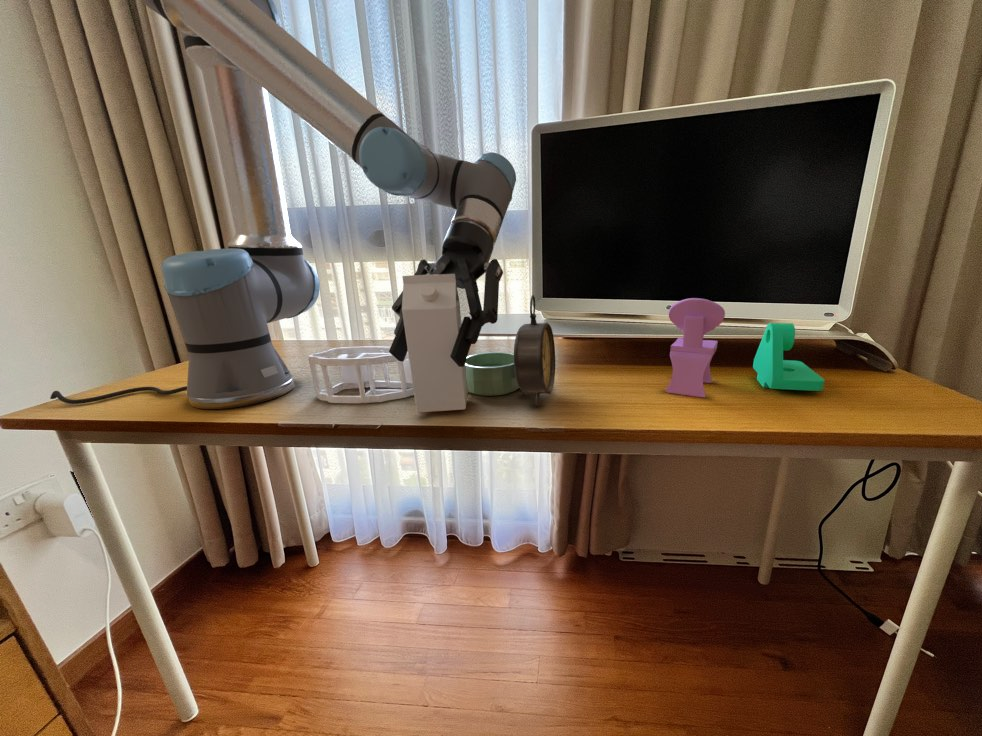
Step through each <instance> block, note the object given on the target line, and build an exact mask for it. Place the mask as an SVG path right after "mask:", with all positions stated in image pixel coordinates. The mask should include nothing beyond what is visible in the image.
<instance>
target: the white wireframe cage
mask: <svg viewBox="0 0 982 736" xmlns="http://www.w3.org/2000/svg"><path fill="white" fill-rule="evenodd" d="M390 347H391V346H379V345H378V346H377V345H363V346H362V345H360V346H349V347H348V346H343V347H342V346H341V347H333V348H330V349H328V350H324V351H320V352H316V353H312V354H311V353H310V354H308V363H309V369H310V372H311V373H310V374H311V377H312V382H313V385H314V391H315V394H316V398H317V399H318V400H319V401H326V402H327V403H329V404H369V403H384V402H387V401H392V400H399V399H404V398H408V397H411V396H412V397H413V396H414V390H413V383H412V376H411V369H410V362H409V355H408V351H407V354H406V356H405V359H404V361H403V362H402V361H398V360H397V359H396V358H395V357H394V356H393V355H392V354H391V353H390V352H389V350H390ZM335 356H337V357H335ZM388 363H397V366H398V367H397V368H398V373H399V378H400V379H399V380H400V381H398V380H397V381H396V380H391V379H390V378H391V377H390V372H389V365H388ZM317 365H319V366H320V367H321V372H322V377H323V380H324V385H325V388H324V389H322V388H321V384H320V379H319V375H318V370H317ZM377 365H381V366H382V370H383V377H384V380H375V378H376V377H377V376H376V369H375V366H377ZM328 367H338V370H339V374H340V380H341V382H339V383H337V384H335V385H333V386H332V383H331V379H330V374H329V368H328ZM365 388H369V390H368V391H366V389H365ZM379 388H380V389H379ZM385 388H386V389H385ZM347 389H348V390H351V389H358V391H359V395H336V394H338V393H339V392H341V391H343V390H347Z"/></svg>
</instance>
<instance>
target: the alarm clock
mask: <svg viewBox="0 0 982 736" xmlns="http://www.w3.org/2000/svg"><path fill="white" fill-rule="evenodd" d="M529 314H530V315H529V318H530V323H524V324H522V325H521V326H520V327H519V328H518V330H517V332H516V335H515V339H514V344H513V354H514V364H513V367H514V369H515V375H516V379H517V383H518V385H519V387H520V388H519V389H520V390H521V391H522V392H523V394H522V396H521V397H523V396H524V395H525V394H527V395H534V408H539V401H540V395H542V394H543V395H549V394H551V392H552V391H553V390H554V389H553V388H554V385H555V378H556V345H555V338H554V332H553V329H552V326H551V324H550V323H549V322H537V314H536V297H535V295H534V294H532V295H531V297H530V301H529Z"/></svg>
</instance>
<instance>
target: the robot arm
mask: <svg viewBox="0 0 982 736" xmlns="http://www.w3.org/2000/svg"><path fill="white" fill-rule="evenodd" d="M139 1H140V2H141V3H143V4H144V5H145V6H146V7H147V8H149V9H150V10H152V11H153V12H155V13H156V14H158V15H159V16H161V17H162V18H163V19H165V20H166V21H167V22H168V23H169V24H170V25H172V26H173V27H175V28H176V29H177V30H179V31H180V32H181V36H182V40H183V45H184V49H185V50H184V51H185V54H186V56H187V57H188V58H189V59H190V60H191V61H192V62H193V63H194V64H195V65H196V66H197V67H198V68H199V69H200V70H201V74H202V78H203V83H204V88H205V92H206V98H207V102H208V107H209V112H210V117H211V120H212V125H213V131H214V135H215V141H216V146H217V151H218V155H219V160H220V165H221V171H222V174H223V179H224V183H225V188H226V194H227V198H228V202H229V209H230V212H231V218H232V222H233V227H234V231H235V234H234V236H233V238H232V239H231V240H229V242H228V243H227V247H228V248H216V249H215V248H213V249H205V250H195V251H189V252H183V253H179V254H175V255H171V256H169V257H167V258H165V259H164V260H163V261H162V263H161V268H160V269H161V272H162V277H163V280H164V289H165V292H166V293H167V296H168V298H169V302H170V304H171V307H172V310H173V313H174V316H175V319H176V322H177V324H178V328H179V330H180V333H181V336H182V339H183V342H184V344H185V348H186V351H187V354H188V368H187V380H186V381H187V382H186V383H187V384H186V386H182V387H178V388H174V389H170V390H162V389H160V388H158V387H155V386H139V387H132V388H128V389H123V390H119V391H114V392H111V393H106V394H102V395H97V396H93V397H88V398H87V397H86V398H80V399H72V398H70V399H69V398H67V397H65V396H64V395H63V394H62V393H61V392H60V391H59V390H54V391H52V393H51V395H50V397H49V400H54V399H58V400H59V401H60V402H62V403H65V404H71V405H80V404H89V403H93V402H99V401H102V400H108V399H112V398H116V397H119V396H123V395H128V394H133V393H138V392H146V391H147V392H148V391H152V392H155V393H158V394H159V395H163V396H169V395H174V394H178V393H181V392H185V391H186V397H187V398H188V402H189V404H190V406H191V407H193V408H197V409H203V410H221V409H232V408H239V407H245V406H251V405H255V404H259V403H262V402H267V401H270V400H272V399H276V398H278V397H281V396H283V395H285V394H287V393H289V392H291V390H293V389H294V388H295V381H294V378H293V375H292V373H291V371H290V370H289V368H288V367H287V365H286V363H285V361H284V360H283V359H282V357H281V356H280V354H279V353H278V351H277V350H276V348H275V346H274V344H273V341H272V337H271V334H270V329H269V325H268V324H270V323H274V322H277V321H281V320H284V319H287V320H288V319H293V318H295V317H297V316H300V315H301V314H303V313H306V312H307V311H309V310H310V309H311V308H312V307H313V306H314V305H315V304H316V302H317V300H318V299H319V296H320V295H319V294H320V290H321V283H320V279H319V275H318V273H317V271H316V268H315V267H314V266H312V265H311V264H310V262H309V261H308V260H307V259H306V258H305V257H304V250H303V245H302V244H301V243H300V242H299V241H297V239H295V238H294V237H293V235H292V234H291V233H292V231H291V227H290V221H289V214H288V208H287V202H286V196H285V191H284V190H285V189H284V185H283V184H284V183H283V178H282V177H283V176H282V173H281V166H280V161H279V154H278V148H277V141H276V135H275V130H274V122H273V118H272V112H271V105H270V100H269V94H270V95H271V96H273V97H274V98H275V99H276V100H278V101H279V102H280V103H281V104H283V105H284V106H285V107H286V108H287V109H289V110H290V111H291V112H292V113H294V115H296V116H297V117H299V118H300V119H301V120H302V121H303V122H305V124H307V125H309V127H311V128H312V129H314V130H315V131H316V132H317V133H318V134H319V135H321V136H322V137H323V138H325V139H326V140H327V141H328V142H330V143H331V144H332V145H333V146H334V147H336V148H337V149H338V150H339V151H341V152H342V153H343V154H344V155H346V156H347V157H348V158H349V159H351V160H352V161H353V163H354V164H356V165H358V166H359V167H360V168H361V169H362V171H363V174H364V176H365V177H366V178H367V179H368V181H369V182H370V183H371V184H372V185H374V186H375V187H376V188H377V189H380V190H382V191H383V192H385V193H386V194H389V195H393V196H397V197H407V198H410V199H414V200H417V201H423V202H427V203H430V204H435V205H438V206H443V207H446V208H451V209H454V210H455V212H454V215H453V217H452V219H451V221H450V224H449V227H448V229H447V230H446V234H445V237H444V239H443V241H442V245H441V255H440V256H439V258H438V259H437V260H436V261H435V262H428V261H427V259H425V258H424V259H421V260H419V262H418V265H417V268H416V270H415V272H414V274H413V275H439V274H455V280H456V286H457V289H461V290H465V295H466V296H465V297H466V301H467V304H468V310H469V311H468V315H470V316H464V317H463V320H462V321H461V324H462V325H461V328H460V330H459V333H458V336H457V339H456V342H455V344H454V347H453V350H452V353H451V356H450V357H451V358H452V359H453V361H454V362H455V363H456V364H457V365H458V366H459V367H464V364H465V361H466V358H467V356H469V352H470V349H471V346H472V345H476V344H477V342H478V340H479V337H480V334H481V330H482V329H483V327H484V326H485V324H488V323H490V324H493V325H494V324H497V322H498V317H499V315H498V314H499V292H500V281H501V279H502V277H503V275H504V271H503V269H502V267H501V265H500V263H499V260H498V259H497V258H493V259H491V257H492V254H493V251H494V246H495V245H496V242H497V240H498V236H499V234H500V231H501V227H502V226H503V223H504V219H505V216H506V214H507V211H508V208H509V206H510V203H511V201H512V200H513V194H514V190H515V185H516V183H517V173H516V170H515V167H514V165H513V164H512V163H511V161H510V160H509V159H508V158H506V157H505V156H503V155H502V154H500V153H497V152H491V151H490V152H486V153H482V154H480V155H479V156H478V158H476V160H475V161H474V162H471V161H468V160H463V159H458V158H454V157H451V156H447V155H444V154H440V153H438V152H435V151H434V150H432V149H430V148H428V147H427V146H425V145H423V144H422V143H420V142H419V141H417V140H415V139H414V138H413V137H412V136H410V135H409V134H408V133H407V132H406V131H405V130H404V129H402V128H401V127H400V126H398V124H396V123H395V122H394V121H393V120H391V118H389V117H387V115H385V114H384V113H383V112H382V111H381V110H380V109H378V108H377V107H376V106H375V105H373V104H372V103H371V102H370V101H369V100H368V99H367V98H365V97H364V96H363V95H362V94H361V93H359V92H358V91H357V90H356V89H355V88H354V87H352V85H350V84H349V83H348V82H347V81H346V80H344V79H343V78H342V77H340V75H338V74H337V73H336V72H335V71H334V70H333V69H331V68H330V67H329V66H328V65H326V64H325V63H324V62H323V61H322V60H321V59H320V58H318V57H317V55H315V54H314V53H313V52H311V51H310V49H308V48H307V47H305V45H303V44H302V43H301V42H299V40H298V39H296V38H295V37H294V36H292V35H291V34H290V33H289V32H288V31H287V30H286V29H284V28H283V26H282V21H281V17H280V14H279V11H278V9H277V6H276V4H275V3H274V0H139ZM484 274H485V277H484V293H483V308H482V302H481V299H480V294H479V291H480V290H479V287H478V282H477V281H478V280H479V279H480V278H481V277H482V276H483V275H484ZM402 298H403V290H402V291H401V293H400V294H399V296H398V297H397V298H396V300H395V301H394V303H393V304H392V306H391V310H392V311H393V312H394V313H395V314H396V315H397V316H398V317H399V319H398V321H397V323H396V326H395V327H394V331H393V334H394V335H395V336H394V338H393V341H392V343H391V345H390V346H389V347H390V350H389V352H390V353H391V354H392V355H393V356H394V357H395V358H396V359H397V360H398V361H402V362H403V361H404V359H405V356H406V354H407V351H408V348H407V341H406V334H405V327H404V320H403V313H402ZM398 361H397V362H398ZM69 472H70V474H71V477H72V479H73V481H74V483H75V485H76V487H77V489H78V491H79V493H80V496H81V497H82V500H83V501H84V503H85V505H86V508H87V509H88V511H89V513H90V515H91V517H92V518H93V516H92V514H91V511H90V509H89V507H88V505H87V503H86V500H85V497H84V495H83V493H82V491H81V489H80V486H79V484H78V482H77V479H76V477H75V475H74V472H75V471H72V470H69Z"/></svg>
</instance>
